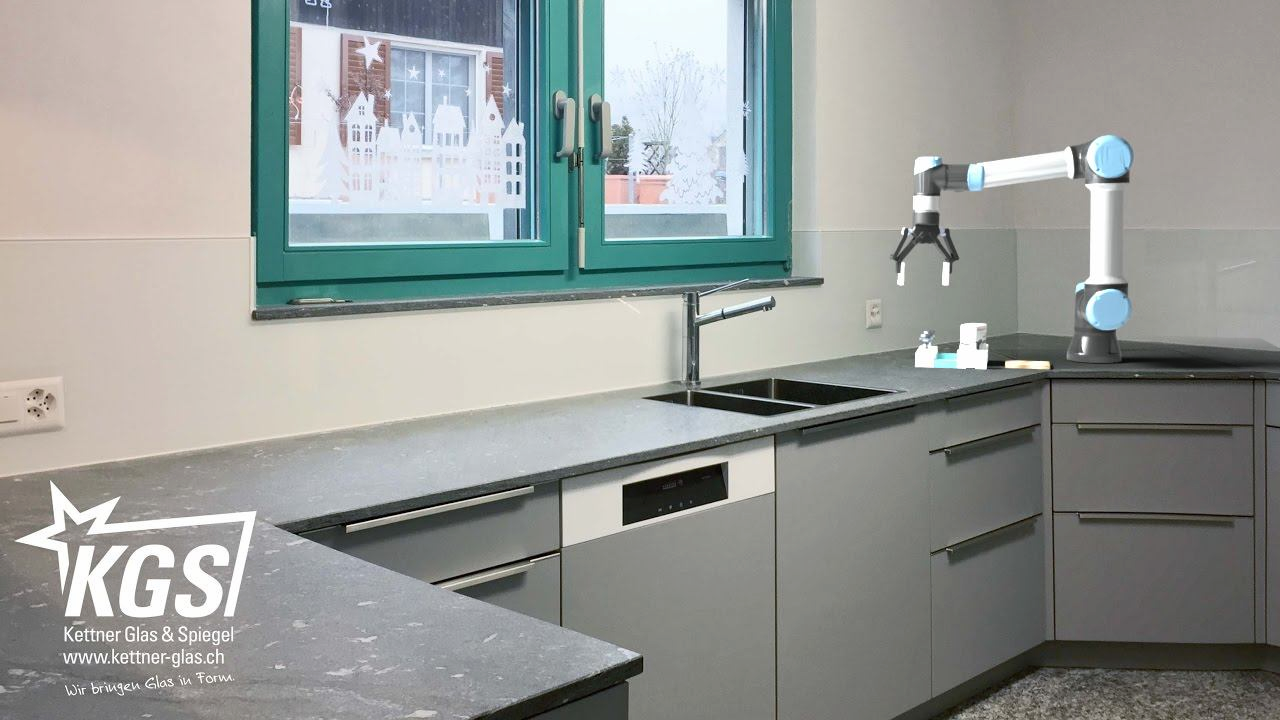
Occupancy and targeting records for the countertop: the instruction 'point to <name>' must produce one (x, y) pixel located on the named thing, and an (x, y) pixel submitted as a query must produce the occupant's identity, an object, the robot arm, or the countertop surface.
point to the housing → (952, 358)
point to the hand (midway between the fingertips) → (923, 285)
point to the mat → (1027, 364)
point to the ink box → (973, 336)
